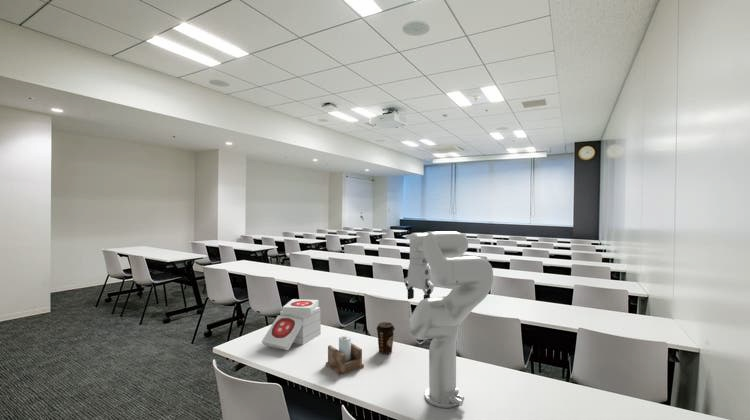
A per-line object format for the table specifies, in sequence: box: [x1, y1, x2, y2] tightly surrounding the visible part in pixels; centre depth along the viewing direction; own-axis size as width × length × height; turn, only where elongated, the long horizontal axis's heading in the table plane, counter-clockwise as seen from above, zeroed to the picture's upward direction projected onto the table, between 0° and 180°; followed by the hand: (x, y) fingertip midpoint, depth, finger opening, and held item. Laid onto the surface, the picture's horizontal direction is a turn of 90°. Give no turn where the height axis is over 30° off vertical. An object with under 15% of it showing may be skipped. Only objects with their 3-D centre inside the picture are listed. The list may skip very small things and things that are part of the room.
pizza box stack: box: [261, 298, 322, 351], centre depth 169 cm, size 19×30×18 cm, turn 154°
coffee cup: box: [376, 321, 396, 355], centre depth 156 cm, size 9×8×13 cm
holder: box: [325, 342, 365, 377], centre depth 142 cm, size 12×12×8 cm
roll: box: [338, 335, 352, 363], centre depth 142 cm, size 5×5×11 cm
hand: (418, 301), depth 141 cm, fingers open, 9 cm apart
